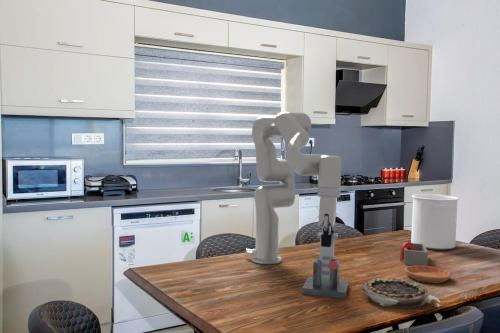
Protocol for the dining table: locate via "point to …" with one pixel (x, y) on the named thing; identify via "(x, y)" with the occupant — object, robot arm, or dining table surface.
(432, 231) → the bucket
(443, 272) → the saucer
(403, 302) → the pie
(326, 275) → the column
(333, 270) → the stand
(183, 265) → the dining table surface
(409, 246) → the bracket
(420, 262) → the bracket rest
